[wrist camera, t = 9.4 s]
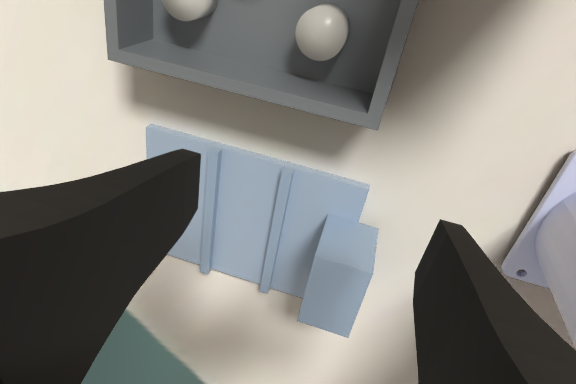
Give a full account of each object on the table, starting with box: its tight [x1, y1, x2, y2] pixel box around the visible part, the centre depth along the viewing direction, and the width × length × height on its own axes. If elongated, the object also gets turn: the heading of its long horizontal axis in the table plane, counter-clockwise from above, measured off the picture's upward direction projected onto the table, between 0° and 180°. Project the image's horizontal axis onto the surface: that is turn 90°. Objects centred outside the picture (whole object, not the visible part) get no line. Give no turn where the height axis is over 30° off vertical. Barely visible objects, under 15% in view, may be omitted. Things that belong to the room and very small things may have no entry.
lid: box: [146, 124, 378, 338], centre depth 24 cm, size 15×10×5 cm, turn 79°
